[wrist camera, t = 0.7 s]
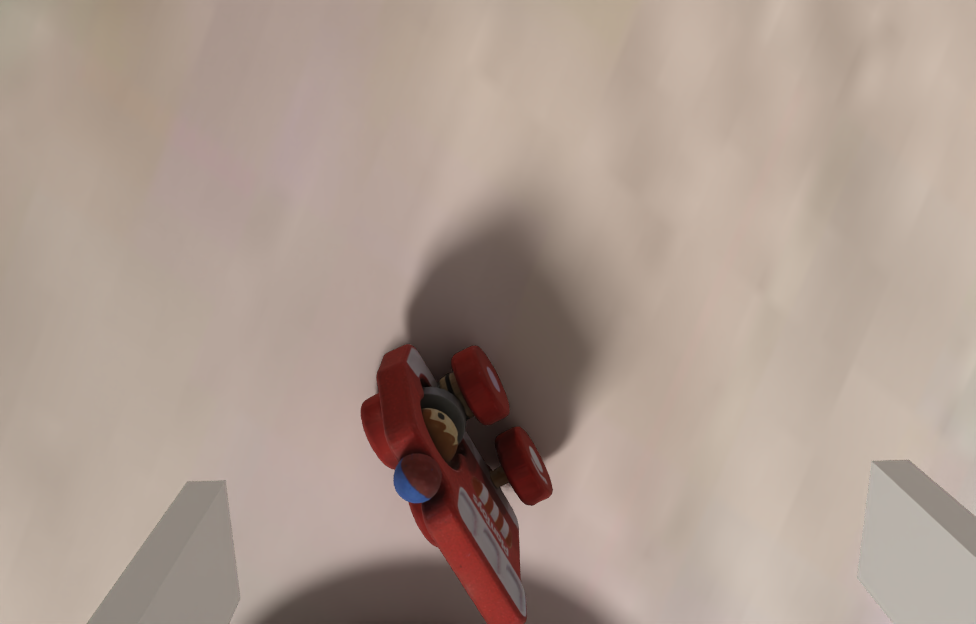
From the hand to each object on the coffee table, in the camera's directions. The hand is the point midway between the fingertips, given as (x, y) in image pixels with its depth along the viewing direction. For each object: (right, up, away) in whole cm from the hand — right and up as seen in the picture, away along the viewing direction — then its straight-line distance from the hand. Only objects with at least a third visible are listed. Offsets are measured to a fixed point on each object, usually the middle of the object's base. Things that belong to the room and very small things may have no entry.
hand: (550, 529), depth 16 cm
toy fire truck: (-3, -2, +27) cm, 28 cm away
